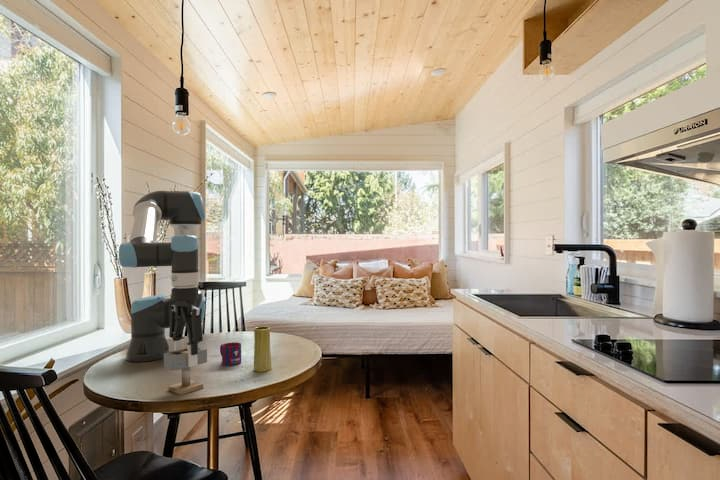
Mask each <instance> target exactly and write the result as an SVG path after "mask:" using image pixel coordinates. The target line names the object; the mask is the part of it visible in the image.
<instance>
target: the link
mask: <svg viewBox="0 0 720 480" xmlns="http://www.w3.org/2000/svg"><path fill="white" fill-rule="evenodd" d="M184 351H188V347H184V349H181V350H176V351H174V350H172V351H170V352H167V353H164V358H163V368H167V369H169V370H173V371H178V370H179V371H180V370H182V369H184V368H187V367H188V353H184V354H181V352H184ZM197 357H198V365H197V366H199V365H202V364H206V363H208V349H207V348H204V347H199V346H198V354H197Z"/></svg>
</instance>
